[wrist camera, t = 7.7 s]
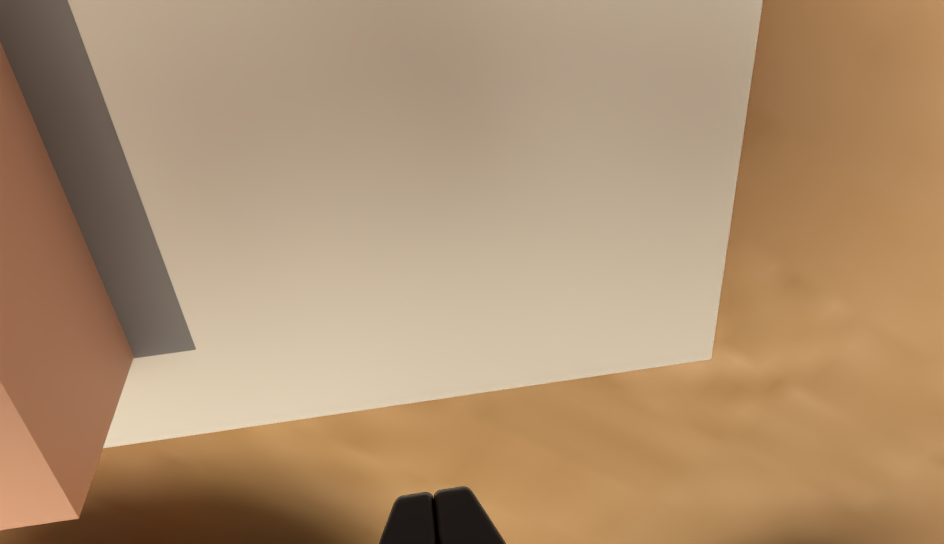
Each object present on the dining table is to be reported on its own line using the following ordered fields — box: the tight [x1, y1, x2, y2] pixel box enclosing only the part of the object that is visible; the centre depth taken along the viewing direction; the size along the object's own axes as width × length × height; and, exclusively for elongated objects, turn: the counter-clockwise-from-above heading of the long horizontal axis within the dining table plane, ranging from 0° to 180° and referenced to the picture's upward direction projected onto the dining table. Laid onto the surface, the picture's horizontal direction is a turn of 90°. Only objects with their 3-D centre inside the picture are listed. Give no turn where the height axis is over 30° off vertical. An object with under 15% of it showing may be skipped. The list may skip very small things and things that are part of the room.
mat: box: [0, 0, 763, 448], centre depth 16 cm, size 20×28×1 cm
